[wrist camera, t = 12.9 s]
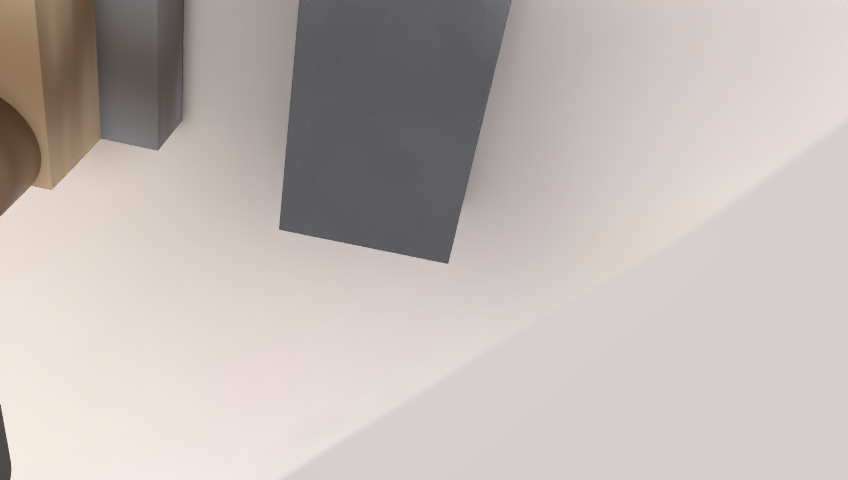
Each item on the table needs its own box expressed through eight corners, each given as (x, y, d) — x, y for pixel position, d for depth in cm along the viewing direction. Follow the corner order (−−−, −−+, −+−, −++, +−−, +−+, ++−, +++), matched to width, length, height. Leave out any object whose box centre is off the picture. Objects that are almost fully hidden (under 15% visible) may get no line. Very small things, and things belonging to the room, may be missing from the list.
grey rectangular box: (332, -83, 22) (303, -50, 19) (513, -46, 22) (512, -6, 19) (305, 170, 26) (279, 229, 23) (455, 201, 26) (448, 263, 24)
